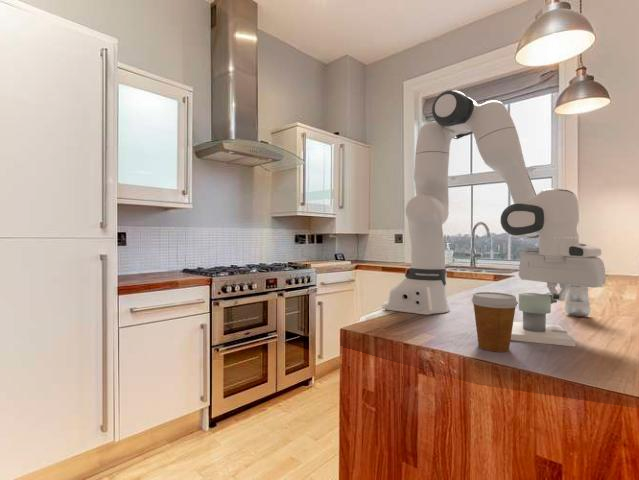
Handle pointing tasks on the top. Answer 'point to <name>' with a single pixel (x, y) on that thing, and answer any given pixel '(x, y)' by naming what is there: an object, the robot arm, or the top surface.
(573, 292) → the plastic bottle
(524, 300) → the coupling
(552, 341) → the lock base
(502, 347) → the disposable coffee cup
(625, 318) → the top surface
